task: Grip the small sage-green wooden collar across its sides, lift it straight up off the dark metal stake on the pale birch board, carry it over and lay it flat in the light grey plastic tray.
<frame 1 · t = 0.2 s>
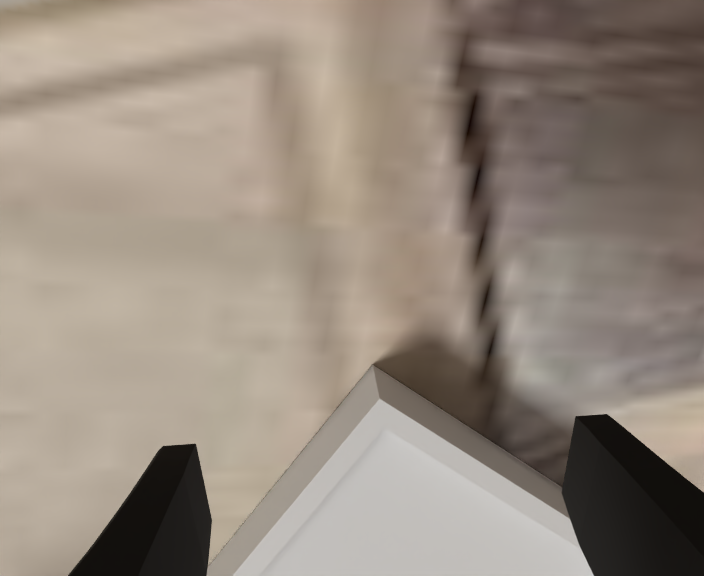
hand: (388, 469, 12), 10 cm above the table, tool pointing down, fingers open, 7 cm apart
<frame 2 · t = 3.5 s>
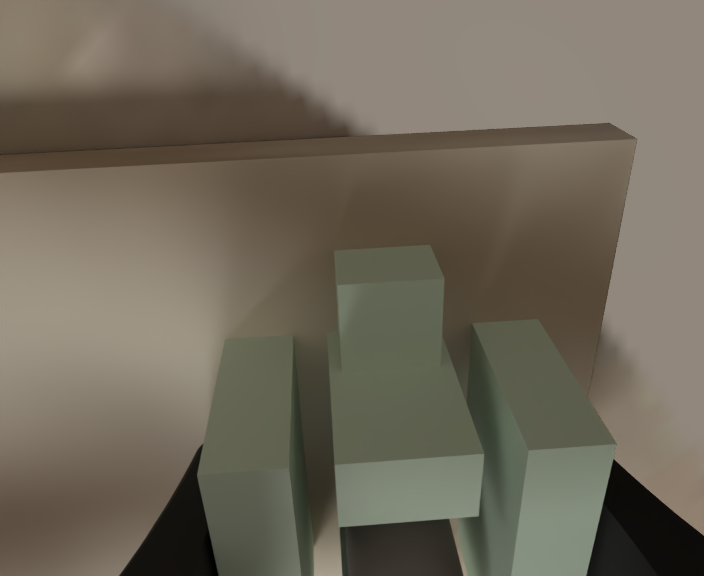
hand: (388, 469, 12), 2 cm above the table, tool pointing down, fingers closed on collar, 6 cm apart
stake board: (249, 491, 14), on the table
collar: (384, 446, 12), point 1 cm above the table, touching gripper, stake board
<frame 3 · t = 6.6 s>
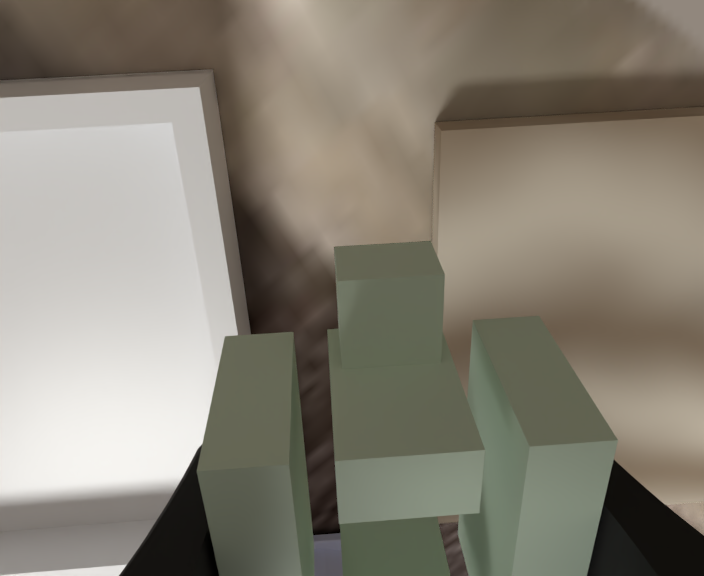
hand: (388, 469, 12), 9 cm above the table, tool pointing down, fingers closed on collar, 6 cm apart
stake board: (621, 333, 22), on the table
collar: (385, 444, 12), point 9 cm above the table, touching gripper
tray: (21, 352, 21), on the table
when the fingers open (3 cm above the table, at t = 9.6 s): collar drops 1 cm, resting on tray.
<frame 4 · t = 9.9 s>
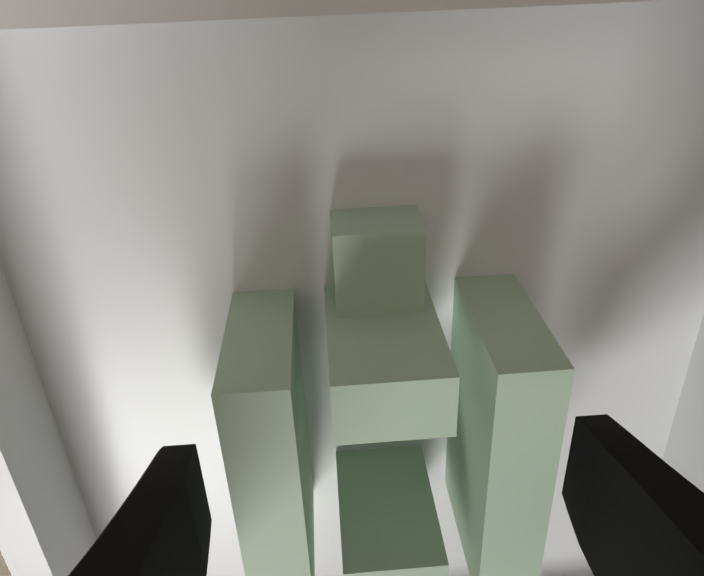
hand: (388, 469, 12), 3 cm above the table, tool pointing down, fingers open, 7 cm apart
collar: (377, 394, 14), resting on tray
tray: (374, 384, 14), on the table
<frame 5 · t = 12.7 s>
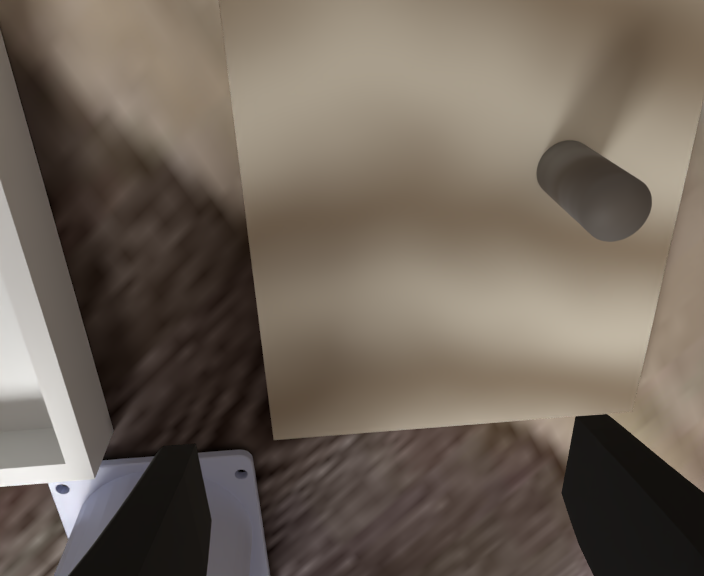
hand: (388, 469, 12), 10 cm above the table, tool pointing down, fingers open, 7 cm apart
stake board: (459, 222, 21), on the table
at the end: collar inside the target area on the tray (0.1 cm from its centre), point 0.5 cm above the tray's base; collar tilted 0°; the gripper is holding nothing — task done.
